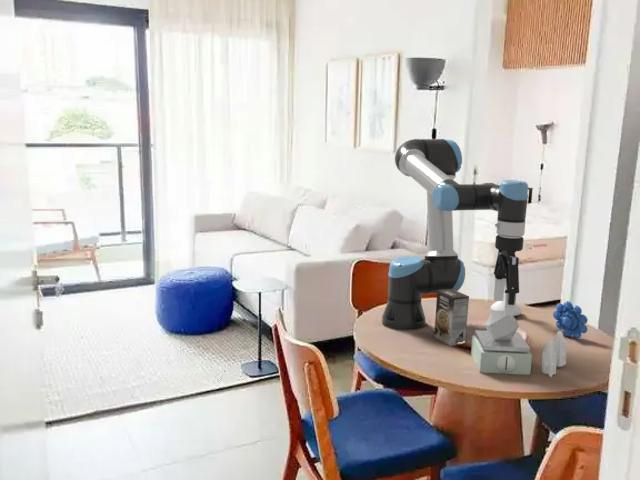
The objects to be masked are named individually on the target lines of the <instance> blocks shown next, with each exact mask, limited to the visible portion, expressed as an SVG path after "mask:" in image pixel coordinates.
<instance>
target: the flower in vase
mask: <svg viewBox="0 0 640 480" xmlns="http://www.w3.org/2000/svg"><path fill="white" fill-rule="evenodd" d="M515 257H518V256H517V254H516V252H515ZM505 290H507V284H506V279H505V287H504V291H505ZM505 296H506V293H505V292H504V298H503V301H496V302H494V303H493V304H492V305H491V306H490V309H489V310H490V312H492V311H504V308H505ZM522 313H523V309H522V307H521V306H520V305H519V304H518V303H516V304H515V315H514V317H516V316H519V315H522Z"/></svg>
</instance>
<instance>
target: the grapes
mask: <svg viewBox="0 0 640 480" xmlns="http://www.w3.org/2000/svg"><path fill="white" fill-rule="evenodd" d="M555 307H556V308H555V309H556V310H555V311H553V314H552V316H553V318H554V319H555V320H556V322H555V325H556V328H557V329H559V331H563V332H562V333H563V335H565V337H568V338H569V337H572V336H573V337H574V338H575V339H580V338H581V337H582V334H586V333H588V327H587V325H586V324H587V323H588V317H587V316H586V315H585V314H582V313H583V311H582V308H581V307H580V306H579V305H573V303H572V302H570V301H568V300H567V301H564V303H563V304H562V303H561V302H560V303H559V302H558V303H557V304H556V305H555Z"/></svg>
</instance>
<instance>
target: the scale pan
mask: <svg viewBox="0 0 640 480" xmlns="http://www.w3.org/2000/svg"><path fill="white" fill-rule="evenodd" d="M474 335H475V336H476V338H477V340H478V342H479V343H480V345H481V347H482V349H483V350H496V351H518V352H530V353H531V347H530V345H528V343H527V342H526V340H525V339H524V337H523V336H522V334H521V333H520V332H519V331H516V333H515V334H514V336H513V338H512V340H493V339H492V337H491V335H490V334H489V332H488V331H487V330H481V329H480V330H478V329H477V330H474Z"/></svg>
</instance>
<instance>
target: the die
mask: <svg viewBox="0 0 640 480" xmlns="http://www.w3.org/2000/svg"><path fill="white" fill-rule="evenodd" d="M484 327H485V329H486V331H488V332H489V334H490V335H491V337H492V339H493V340H512V338H513V336H514V334H515V333H516V332H518V329H519V327H520V324H519V322H518V320H516V318H515V316H510V315H504V311H490V314H489V316H488V318H487V320H486V322H485V324H484Z"/></svg>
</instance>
